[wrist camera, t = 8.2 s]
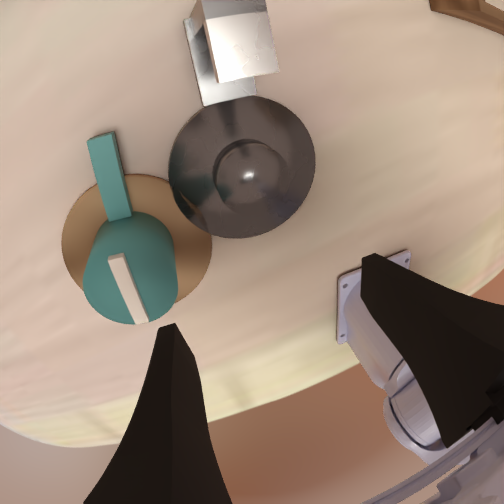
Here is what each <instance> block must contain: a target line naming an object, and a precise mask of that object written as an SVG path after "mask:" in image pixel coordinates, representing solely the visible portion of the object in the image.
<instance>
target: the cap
mask: <svg viewBox="0 0 504 504" xmlns="http://www.w3.org/2000/svg"><path fill="white" fill-rule="evenodd" d="M87 145H88V149H89V153H90V157H91V161H92V165H93V169H94V173H95V177H96V180H97V184H98V187H99V191H100V194H101V198H102V201H103V204H104V208H105V211H106V214H107V217H108V219H107V220H106V221H105V222H104V223H103V224H102V225H101V227H100V228H99V230H98V232H97V234H96V237H95V240H94V243H93V246H92V249H91V252H90V255H89V258H88V261H87V264H86V268H85V271H84V275H83V290H84V294H85V296H86V298H87V300H88V302H89V303H90V305H91V306H92V307H93V308H94V309H95V310H96V311H97V312H98V313H100V314H101V315H102V316H104V317H106V318H108V319H110V320H112V321H115V322H119V323H123V324H136V325H137V324H143V323H148V322H151V321H154V320H156V319H158V318H160V317H161V316H163V315H164V314H165V313H167V312H168V311H169V310H170V308H171V307H172V306H173V304H174V303H175V300H176V298H177V295H178V279H177V271H176V262H175V253H174V244H173V239H172V236H171V234H170V232H169V230H168V229H167V227H166V226H165V225H164V224H163V223H162V222H161V221H160V220H158V219H157V218H155V217H154V216H152V215H150V214H147V213H143V212H138V211H133V208H132V204H131V201H130V197H129V193H128V189H127V185H126V181H125V177H124V173H123V169H122V165H121V161H120V156H119V152H118V147H117V143H116V138H115V133H114V131H113V132H110V133H106V134H103V135H99V136H96V137H93V138H90V139H89V140H88V141H87Z"/></svg>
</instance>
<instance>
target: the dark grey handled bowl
mask: <svg viewBox="0 0 504 504" xmlns="http://www.w3.org/2000/svg"><path fill="white" fill-rule="evenodd" d="M183 23H184V28H185V32H186V36H187V41H188V45H189V49H190V54H191V58H192V62H193V67H194V71H195V75H196V79H197V84H198V88H199V92H200V96H201V101H202V105H203V106H206V107H204V108H203V109H201V110H200V111H198V112H197V113H196V114H195V115H194V116H192V117H191V118H190V119H189V121H188V122H187V123H186V124H185V125H184V126H183V128H182V129H181V131H180V132H179V134H178V136H177V138H176V140H175V142H174V144H173V147H172V150H171V153H170V159H169V170H168V173H169V184H170V186H171V187H172V189H171V190H172V191H173V192H174V193H172V194H173V195H174V194H176V195H174V196H175V197H174V196H173V198H174V200H175V202H176V204H177V206H178V208H179V209H180V211H181V212H182V213H183V215H184V216H185V217H186V218H187V219H188V220H189V221H190V222H191V221H192V222H191V223H192V224H195V226H197V227H198V228H200V229H201V230H203V231H205V232H207V233H210V234H213V235H215V236H220V237H224V238H248V237H253V236H257V235H260V234H263V233H266V232H268V231H270V230H272V229H274V228H276V227H278V226H279V225H281V224H282V223H284V222H285V221H286V220H287V219H289V218H290V217H291V216H292V215H293V214H294V213H295V212H296V211H297V209H298V208H299V207H300V206H301V204H302V203H303V201H304V200H305V198H306V196H307V194H308V192H309V190H310V187H311V185H312V182H313V178H314V173H315V152H314V146H313V143H312V140H311V137H310V135H309V133H308V131H307V129H306V127H305V126H304V124H303V123H302V121H301V120H300V119H299V118H298V117H297V116H296V115H295V114H294V113H293V112H291V111H290V110H289V109H288V108H286V107H284V106H283V105H281V104H279V103H277V102H274V101H272V100H269V99H265V98H262V97H256V96H251V95H256V94H257V91H256V86H255V81H254V76H258V75H264V74H270V73H277V72H279V67H278V61H277V56H276V51H275V46H274V41H273V36H272V31H271V26H270V21H269V16H268V12H267V7H266V2H265V0H197V1H196V4H195V6H194V8H193V11H192V13H191V16H190V18H188V19H184V20H183ZM207 105H208V106H207ZM171 187H170V188H171ZM180 191H181V192H180ZM178 193H179V194H178ZM182 195H184V197H183V196H182ZM185 196H186V198H187V199H186V198H185ZM182 197H183V198H182ZM180 198H181V199H180ZM186 200H188V201H187V202H188V203H190V204H191V203H193V205H194V206H195V205H196V206H197V207H198V208H196V206H195V208H194V206H193V205H190V204H189V205H190V206H189V205H187V204H188V203H187V202H186ZM190 207H193V208H194V209H195V211H196V209H198V210H200V211H201V212H199V211H198V210H197V211H196V212H195V213H194V211H192V210H194V209H193V208H192V209H191V208H190ZM197 212H198V213H202V214H203V218H204V221H206V222H204V221H202V220H201V218H202V217H201V218H198V217H200V215H201V214H198V213H197ZM195 214H197V215H198V216H197V215H195ZM201 216H202V215H201ZM203 218H202V219H203ZM198 219H199V220H200V221H199V220H198ZM202 223H206V224H202ZM199 226H200V227H199ZM206 228H207V229H206ZM207 230H208V231H207Z"/></svg>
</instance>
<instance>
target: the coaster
mask: <svg viewBox="0 0 504 504" xmlns="http://www.w3.org/2000/svg"><path fill="white" fill-rule="evenodd" d="M124 177H125V181H126V185H127V189H128V193H129V197H130V201H131V204H132V208H133V211H138V212H143V213H147V214H150V215H152V216H154V217H155V218H157V219H158V220H160V221H161V222H162V223H163V224H164V225H165V226H166V227H167V229H168V230H169V232H170V234H171V236H172V239H173V244H174V253H175V262H176V271H177V279H178V295H177V298H176V300H175V303H176V302H178V301H180V300H181V299H183V298H184V297H186V296H187V295H188V294H189V293H191V292H192V291H193V290H194V289H195V288H196V287H197V285H198V284H199V283H200V281H201V280H202V279H203V277H204V275H205V273H206V271H207V269H208V266H209V263H210V259H211V252H212V242H211V235H210V233H207V232H205V231H203V230H201V229H200V228H198V227H197V226H195V224H192V223H191V222H192V221H191V222H190V221H189V220H188V219H187V218H186V217H185V216H184V215H183V213H182V212H181V211H180V209H179V208H178V206H177V204H176V202H175V200H174V198H173V196H174V195H176V194H174V195H173V194H172V193H174V192H173V191H172V190H171V189H172V187H171V186H170V184H169V181H166V180H163V179H161V178H158V177H154V176H150V175H141V174H127V175H124ZM170 187H171V188H170ZM180 192H181V191H180ZM178 194H179V193H178ZM182 196H183V197H184V195H182ZM174 197H175V196H174ZM183 197H182V198H183ZM185 198H186V196H185ZM180 199H181V198H180ZM186 199H187V198H186ZM187 201H188V200H186V202H187ZM187 203H188V202H187ZM189 204H190V203H188V204H187V205H189ZM190 205H193V203H191V204H190ZM190 205H189V206H190ZM193 206H194V205H193ZM195 206H196V205H195ZM195 206H194V208H195ZM190 208H191V209H192V208H193V207H190ZM194 208H193V209H194ZM196 208H198V207H197V206H196ZM197 210H198V209H196V211H197ZM192 211H194V213H195V212H196V211H195V209H194V210H192ZM198 211H199V212H201V211H200V210H198ZM197 213H198V212H197ZM198 214H201V215H202V216H201V215H200V217H198V218H201V217H202V218H203V214H202V213H198ZM195 215H197V214H195ZM197 216H198V215H197ZM202 218H201V220H202V221H204V218H203V219H202ZM107 219H108V217H107V214H106V211H105V208H104V204H103V201H102V198H101V194H100V191H99V187H98V184H96V185H94V186H93V187H91V188H90V189H88V190H87V191H86V192H85V193H84V194H83V195H82V196H81V197H80V198H79V199H78V201H77V202H76V203H75V204H74V206H73V208H72V209H71V211H70V213H69V215H68V217H67V219H66V221H65V224H64V228H63V232H62V253H63V258H64V261H65V264H66V267H67V269H68V271H69V273H70V275H71V277H72V278H73V280H74V281H75V282H76V284H77V285H78V286H79V287H80V288H81V289H82V290H83V275H84V271H85V268H86V264H87V261H88V258H89V255H90V252H91V249H92V246H93V243H94V240H95V237H96V234H97V232H98V230H99V228H100V227H101V225H102V224H103V223H104V222H105V221H106V220H107ZM198 220H199V219H198ZM199 221H200V220H199ZM204 222H206V221H204ZM202 224H206V223H202ZM199 227H200V226H199ZM206 229H207V228H206ZM207 231H208V230H207ZM83 291H84V290H83Z"/></svg>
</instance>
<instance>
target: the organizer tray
mask: <svg viewBox="0 0 504 504" xmlns="http://www.w3.org/2000/svg"><path fill="white" fill-rule="evenodd" d="M429 1H430V6H431V10H432V11H435V12H439V13H443V14H446V15H450V16H453V17H456V18H459V19H462V20H465V21H468V22H471V23H474V24H477V25H479V26H482V27H485V28H487V29H490V30H492V31H495V32H497V33H500V34H502V35H504V11H502V10H500V9H498V8H496V7H494V6H492V5H490V4H488V3H486V2H485V0H429Z"/></svg>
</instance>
